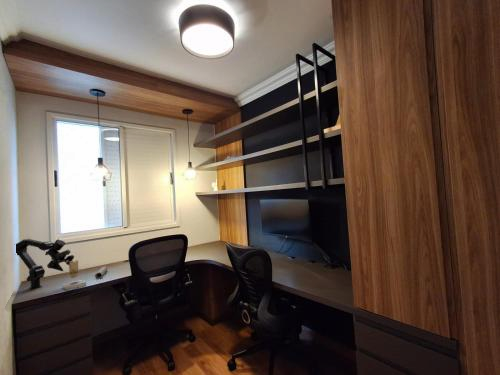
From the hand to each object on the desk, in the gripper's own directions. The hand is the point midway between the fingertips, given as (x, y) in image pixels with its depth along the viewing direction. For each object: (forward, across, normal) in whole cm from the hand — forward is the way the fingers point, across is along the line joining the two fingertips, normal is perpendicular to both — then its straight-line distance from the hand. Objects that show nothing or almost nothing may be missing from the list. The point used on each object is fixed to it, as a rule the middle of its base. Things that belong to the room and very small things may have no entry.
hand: (68, 269), depth 183 cm
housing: (+13, 0, +6) cm, 14 cm away
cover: (+8, 0, +1) cm, 8 cm away
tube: (+13, +29, +7) cm, 33 cm away
